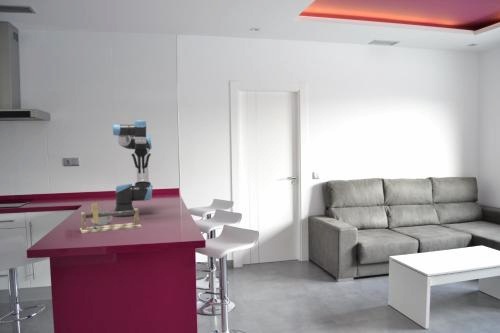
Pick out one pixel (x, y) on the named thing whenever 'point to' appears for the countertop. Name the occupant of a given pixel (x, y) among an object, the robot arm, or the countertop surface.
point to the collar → (94, 213)
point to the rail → (110, 227)
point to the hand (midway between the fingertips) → (141, 178)
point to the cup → (103, 218)
